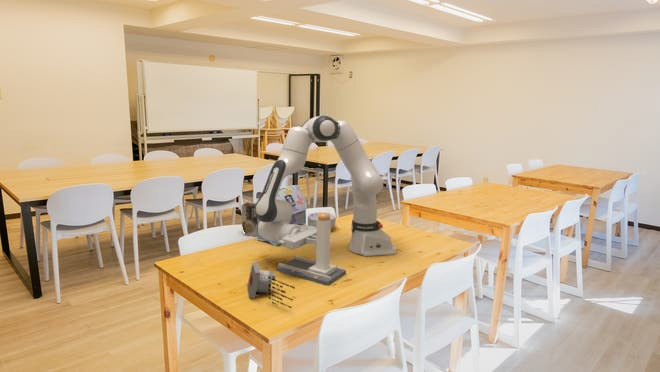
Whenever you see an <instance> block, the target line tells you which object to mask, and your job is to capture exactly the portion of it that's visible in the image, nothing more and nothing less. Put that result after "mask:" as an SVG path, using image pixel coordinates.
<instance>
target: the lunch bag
mask: <svg viewBox="0 0 660 372" xmlns="http://www.w3.org/2000/svg"><path fill="white" fill-rule="evenodd" d="M276 199H277V200H283V201H288V202H289V203H290V204H291V205H292V207H293V215H292V219H291V222H290V224H302V223H304V224H306V223H307V211H306V210H307V208H308V203H307V200H306V198H305V196H304V195H303V192H302V191H301V188H300V185H299V184H295V185H286V186H280V189H279V192H278V194H277V197H276ZM259 222H260V220H259V219H258V224H259ZM306 225H307V224H306ZM257 239H258V241H261V242H268V243H270V244H271V245H273V246H276V247H278V246H279V245H280V244H279V243H278V242H273V241H269V240H266V239H264V238H262V237H261V236H260V235H259V233H258V237H257Z"/></svg>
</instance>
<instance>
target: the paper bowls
mask: <svg viewBox="0 0 660 372" xmlns="http://www.w3.org/2000/svg"><path fill="white" fill-rule="evenodd" d="M318 213H323V212H322V211H321V212H318V211H317V212H313V213H309V214H308V215H307V226H313V227H317V219H318ZM328 213H329V212H328ZM329 214H330V219H331V229H332V228H334V227H336V220H337V219H336V215H334V214H333V213H329Z"/></svg>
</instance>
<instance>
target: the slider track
mask: <svg viewBox="0 0 660 372" xmlns="http://www.w3.org/2000/svg"><path fill="white" fill-rule="evenodd" d="M315 264H316V260H312V259H310V258H309V259H308V258H305V257H300V256H296V255H293V258H292V259H289V260H288V261H286V262H285V263H284V262H283V263H281V262H279V263H278V265H277V267H276V268H275V271H276V272H279V273H283V274H286V275H290V276H292V277H293V276H294V277H297V278H300V279H303V280H306V281H310V282H313V283H317V284H320V285H323V286H330V285H332V283H335V282H336V281H337V280H339V279H341V278H342V277H343V276H345V275H346V274H347V270H346V269H345V268H343V267H338V266H337V270H336V271H335V272H333V273H331V274H330V275H328V276H325V275H322V274H318V273H314V272H311V271H308V268H310V267H312V266H313V265H315Z"/></svg>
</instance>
